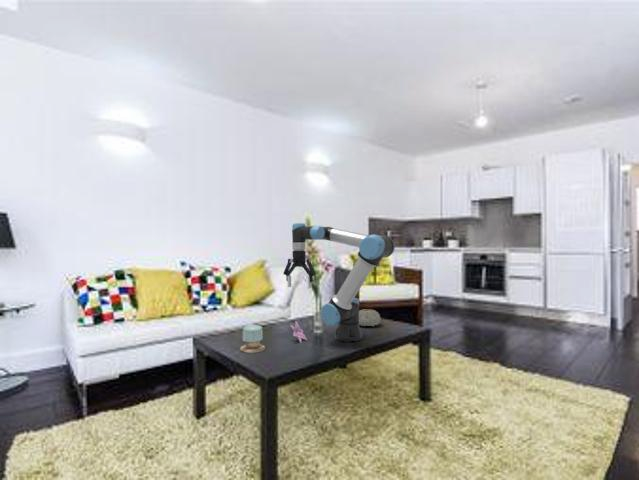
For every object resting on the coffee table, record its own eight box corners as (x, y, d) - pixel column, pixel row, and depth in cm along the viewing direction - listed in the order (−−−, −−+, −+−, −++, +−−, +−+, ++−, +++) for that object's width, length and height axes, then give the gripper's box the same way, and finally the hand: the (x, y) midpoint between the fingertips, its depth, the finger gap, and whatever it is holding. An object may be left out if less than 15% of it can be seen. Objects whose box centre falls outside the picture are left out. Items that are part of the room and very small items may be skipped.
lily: (289, 346, 194) (298, 331, 193) (279, 333, 203) (287, 319, 202) (305, 349, 202) (314, 334, 201) (295, 336, 211) (303, 322, 210)
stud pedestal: (269, 348, 187) (269, 330, 187) (253, 354, 177) (253, 335, 177) (252, 344, 194) (252, 327, 194) (235, 350, 184) (235, 332, 184)
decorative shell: (353, 328, 231) (353, 312, 231) (352, 322, 248) (352, 307, 248) (382, 328, 230) (382, 312, 230) (378, 322, 248) (378, 307, 248)
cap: (246, 336, 191) (246, 325, 191) (263, 337, 190) (263, 325, 190) (241, 341, 182) (241, 329, 182) (259, 342, 181) (259, 329, 181)
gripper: (277, 250, 213) (277, 287, 213) (314, 250, 201) (315, 289, 201) (284, 250, 219) (284, 285, 219) (321, 250, 207) (321, 287, 207)
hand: (299, 287), depth 210 cm, fingers open, 13 cm apart
